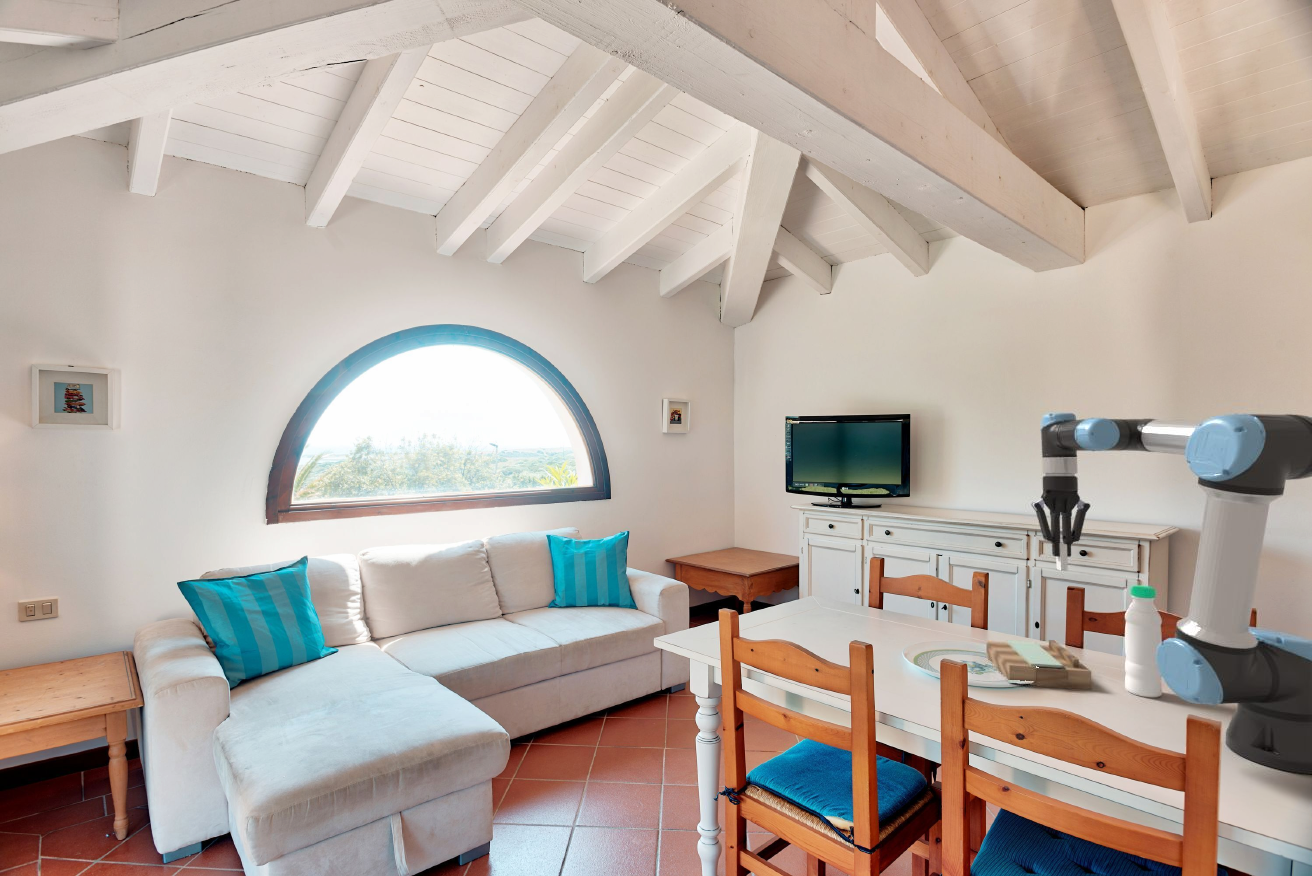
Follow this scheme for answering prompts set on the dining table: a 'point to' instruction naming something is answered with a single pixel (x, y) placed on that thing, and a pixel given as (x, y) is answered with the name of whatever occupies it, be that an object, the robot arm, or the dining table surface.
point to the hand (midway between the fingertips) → (1062, 569)
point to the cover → (1034, 654)
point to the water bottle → (1142, 644)
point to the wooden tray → (1045, 677)
